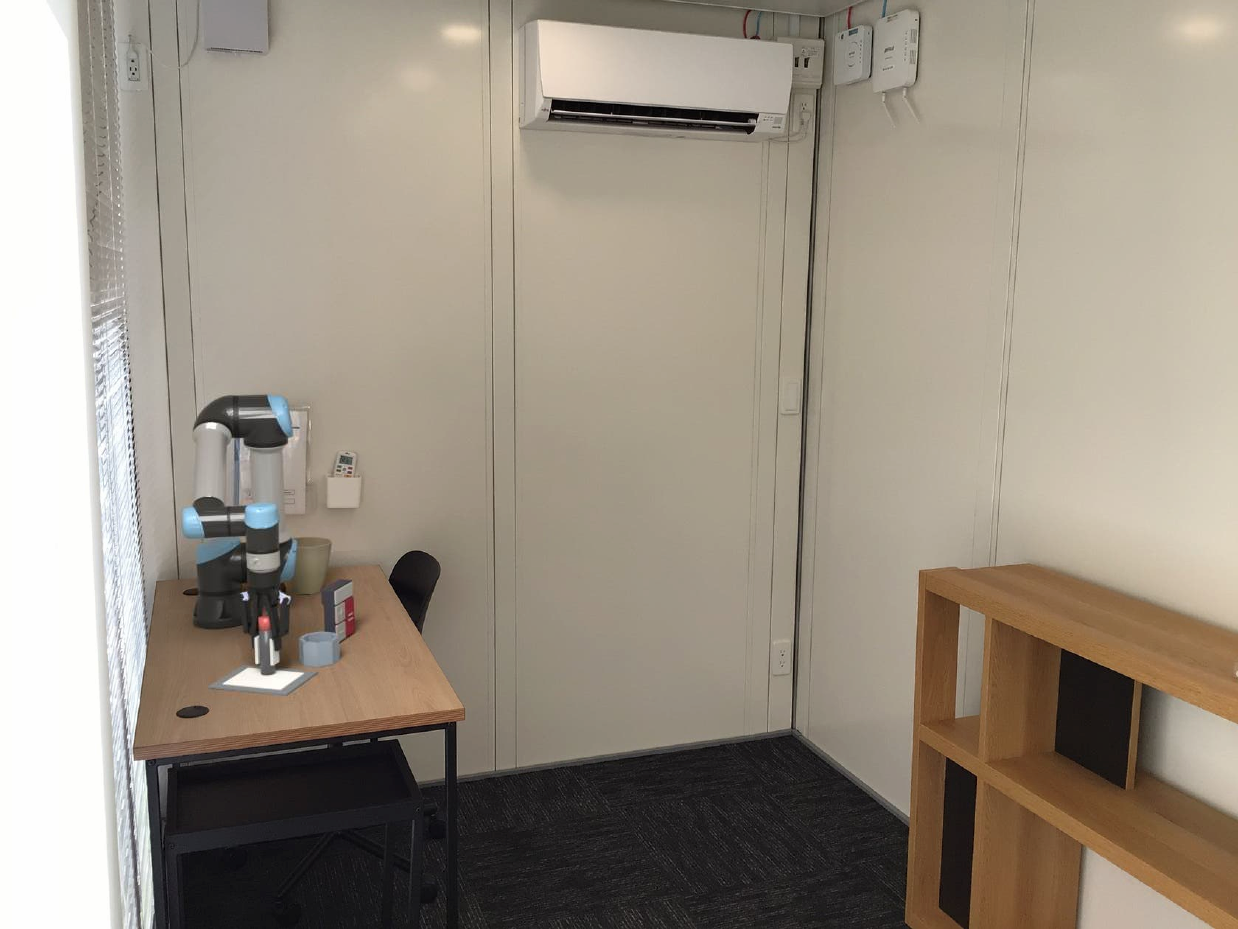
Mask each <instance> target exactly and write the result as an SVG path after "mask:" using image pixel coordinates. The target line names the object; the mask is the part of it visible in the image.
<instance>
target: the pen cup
mask: <svg viewBox="0 0 1238 929" xmlns="http://www.w3.org/2000/svg"><path fill="white" fill-rule="evenodd" d="M298 650H299V651H298V653H299V657H298V658H299V662H300V663H301V664H302V665H303V666H305V667H312V668H313V667H314V668H320V667H325V666H330V665H331V666H332V665H334V664H335V663H337V662H338V661H340V660H341V659H340V656H341V655H340V642H339V636H338V635H336V634H335V633H333V632H325V631H316V632H308V633H305V634H304V635H302V636H300V637H299V638H298Z"/></svg>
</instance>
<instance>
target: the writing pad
mask: <svg viewBox="0 0 1238 929" xmlns="http://www.w3.org/2000/svg"><path fill="white" fill-rule="evenodd" d="M318 674H319V671H312V670H303V669H293V668H281V667H275V673H274V674H272V675H262V674H261V670H260V665H250V664H249V665H248V664H242V665H241V666H239V667H238V668H236V669H235V670H233V671H231V672H230V673H228V674H227V675H225V676H223V677H221V678H219V679H218V680H216V681H215V682H213V683H211V684H210V685H208V686H207V688H208V689H212V688H215V689H214V690H222V689H224V690H225V691H232V690H234V692H244V693H253V692H254V693H256V694H265V695H274V696H275V695H276V696H284V697H287V696H288V695H291V693H293V692H294V691H296V690H297V689H298V688H300V687H301V686H302V685H304V684H305V683H307V682H308V681H309V680H311V679H312V678H313V677H315V676H316V675H318Z"/></svg>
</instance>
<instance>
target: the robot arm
mask: <svg viewBox="0 0 1238 929" xmlns="http://www.w3.org/2000/svg"><path fill="white" fill-rule="evenodd" d="M289 406H290V405H289V402H288V398H286V397H285V396H284V395H281V394H278V395H277V394H269V393H268V394H244V395H243V394H237V395H234V394H230V395H229V394H228V395H223V396H220V397H217V398H215V399H214V400H212V401H211V402H209V403H207V405H205V407H204V408H203V409H201V411H200V412H199V414H198V415H197V417H196V419H195V421H194V424H193V427H192V440H193V442H194V444H195V457H194V472H193V474H194V475H193V487H192V488H193V489H192V504H191V505H192V506H190V507H185V508H183V510H182V511H181V512H182V513H181V530H182V536H184V537H185V538H186V539H201V540H204V539H210V540H206V541H204V542H202V543H201V544H199V545H198V547H197V549H196V554H195V555H196V557H195V559H196V560H195V564H196V572H197V574H196V576H197V577H196V578H197V599H196V603H195V606H194V610H193V612H192V613H193V614H192V625H194V626H195V625H196V626H195V627H197V626H198V627H197V628H201V627H202V629H224V628H225V629H227V628H231V627H236V626H239V625H242V631H243V633H244V634H245V635H249V636H250V637H251V648H252V650H254V659H255V660H254V661H255V663H254V664H255V665H260V646H259V622H258V617H260V616H262V615H263V611H264V608H265V611H266V613H267V615H268V616H269V621H270V626H271V631H272V638H271V639H270V662H271V665H275V666H276V664H278V663H280V651H281V650H282V649H283V643H282V640H283V639H282V638H283V637H285V636H287V635H288V634H290V620H291V619H290V615H291V614H290V613H291V612H290V610H291V603H292V600H293V596H292V595H291V594H289V595H287V594H285V593H282V590H281V588H280V583H282V582H284V581H291V580H290V579H292V577H293V576H294V571H295V563H296V550H297V541H296V540H294V539H292V538H293V537H292V533H291V532H290V531H288V529H286V528H287V527H286V506H285V484H284V483H285V480H284V476H285V475H284V456H283V455H284V452H283V450H284V448H285V447H286V446H287V445H288V444H289V439H290V438H292V437H294V430H293V428H294V427H293V424H292V417H291V410H290V407H289ZM232 439H243V440H242V441H243V446H244V447H245V448H247V449H248V450H249V461H250V463H249V464H250V485H251V504H248V505H226V494H227V493H226V492H227V491H226V488H227V487H226V486H227V466H228V464H227V462H228V461H227V460H228V446H229V445H230V443H231V441H232ZM240 537H245V541H244V542H242V540H241V538H240ZM245 583H248V585H249V587H248V589H247V592H242V584H245ZM250 598H251V600H250ZM279 599H280V600H279ZM251 601H252V602H251ZM278 602H279V603H278ZM279 604H280V607H279ZM278 608H279V609H278Z"/></svg>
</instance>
